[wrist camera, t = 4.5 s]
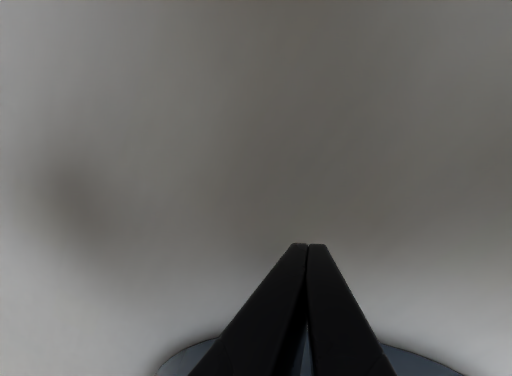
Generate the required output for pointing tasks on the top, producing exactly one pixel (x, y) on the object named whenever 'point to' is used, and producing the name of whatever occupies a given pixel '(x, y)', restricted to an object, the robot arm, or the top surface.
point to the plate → (404, 363)
